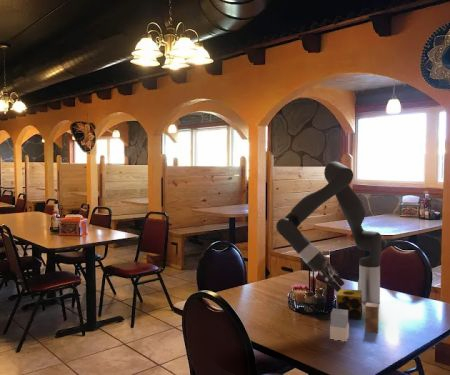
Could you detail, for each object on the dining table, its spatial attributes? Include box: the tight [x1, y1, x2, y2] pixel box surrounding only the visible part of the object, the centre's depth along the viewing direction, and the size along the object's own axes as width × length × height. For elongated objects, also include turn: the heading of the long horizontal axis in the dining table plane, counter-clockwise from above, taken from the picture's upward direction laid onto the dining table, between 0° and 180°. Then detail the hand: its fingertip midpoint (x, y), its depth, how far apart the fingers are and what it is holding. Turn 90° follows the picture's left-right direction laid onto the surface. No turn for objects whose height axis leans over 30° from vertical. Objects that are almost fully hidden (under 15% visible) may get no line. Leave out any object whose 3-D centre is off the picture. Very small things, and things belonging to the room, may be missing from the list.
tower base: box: [329, 322, 350, 342], centre depth 162 cm, size 6×6×5 cm
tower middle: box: [330, 308, 349, 328], centre depth 161 cm, size 6×6×5 cm
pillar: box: [364, 303, 380, 334], centre depth 169 cm, size 4×4×10 cm
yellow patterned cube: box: [336, 288, 363, 321], centre depth 186 cm, size 10×10×10 cm
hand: (341, 287), depth 173 cm, fingers open, 8 cm apart
